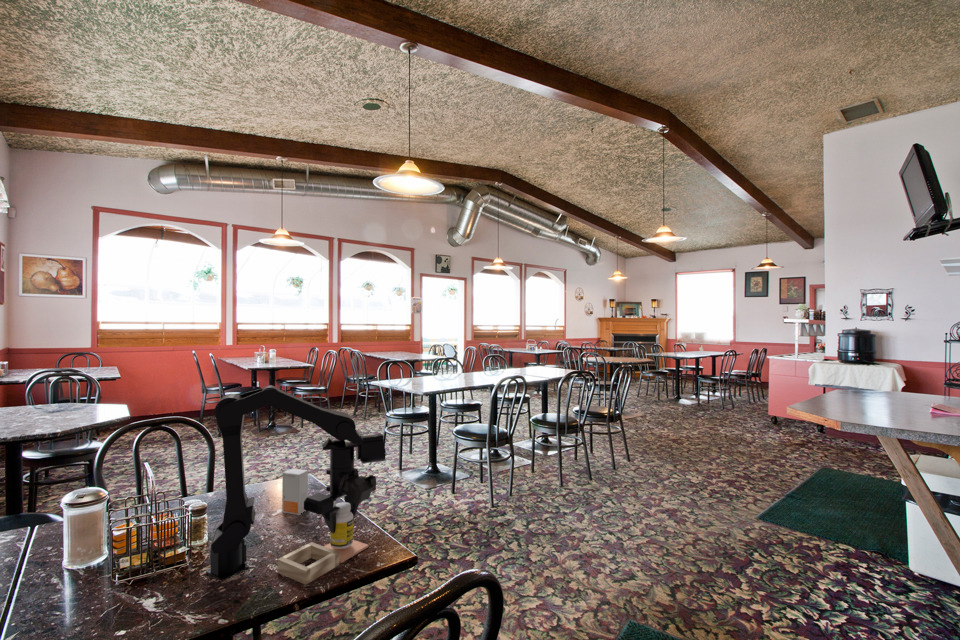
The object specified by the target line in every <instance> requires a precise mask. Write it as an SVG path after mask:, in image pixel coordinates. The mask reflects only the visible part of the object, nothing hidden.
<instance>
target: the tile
mask: <svg viewBox="0 0 960 640" xmlns="http://www.w3.org/2000/svg"><path fill="white" fill-rule="evenodd" d="M324 547H327V548H329V549H332V550H335V551H337V552H339V564H342V563H344V562H345V561H347V560H349V559H350V558H351V559H352V558H353V557H354V556H356V555H357V554H359V553H360V552H362V551H364V550H366V549H367V548H369V544H367V543H364V542H361V541H359V540H356V539H355V540H354V539H353V543H352V545H351V546H350V547H348V548H345V549H334V548H332V547H331V545H330V542H329V543H327V544H325V545H324Z"/></svg>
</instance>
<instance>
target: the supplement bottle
mask: <svg viewBox="0 0 960 640" xmlns="http://www.w3.org/2000/svg"><path fill="white" fill-rule="evenodd" d="M336 506H337V507H340V509H339V510H338V511H337V513H336V529H335V533H331V532H329V533H330V534H329V536H330V539H329V543H330V545H331V547H332V548H334V549H345V548H348V547H350V546H351V545H352V543H353V540H354V520H353V514H352V512H350V510H351V504H350V503H348V502H345V501H342V502H338V503H337V502H336Z"/></svg>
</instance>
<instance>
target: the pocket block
mask: <svg viewBox="0 0 960 640" xmlns="http://www.w3.org/2000/svg"><path fill="white" fill-rule="evenodd" d="M324 546H325V545H324ZM324 546H323V545H321V544H318V543H315V542H313V541H311V542H308V543H307V544H304V545H303V546H301V547H299V548H298V549H294V550H293V551H290V552H289V553H287V554H285V555H283V556H281V557H279V558H278V559H277V573H278V574H280V575H282V576H285V577H287V578H290V579H291V580H293V581H296V582H298V583H301V584H303V585H308V584H310V583H311V582H313V581H315V580H316V579H318V578H319V577H321V576H323V575H325V574H327V573H328V572H330V571H331V570H333V569H334V568H337V567H338V566H340V563H339V552H337V551H335V550H332V549H329V548H327V547H324ZM310 559H313V560H315V561H314V562H313V563H311V564H309V565H307V566H305V565H303V563H304V562H306V561H307V560H310Z"/></svg>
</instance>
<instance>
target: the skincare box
mask: <svg viewBox="0 0 960 640" xmlns="http://www.w3.org/2000/svg"><path fill="white" fill-rule="evenodd" d="M281 483H282V484H281V485H282V486H281V487H282V489H281V490H282V491H281V492H282V494H281V496H282V497H281V502H282V503H281V504H282V505H281V506H282V507H281V509H282V510H281V511H282V513H284V514H289V515H290V514H291V515H296V516H301V515H302V514H303V512H304V511H305V512H307V511H306V510H304V500H305V499H306V498H307V497H309V470H307V469H301V468H289V469H287V470H285V471H283V472H282V482H281ZM305 512H304V513H305ZM301 513H302V514H301Z"/></svg>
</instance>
